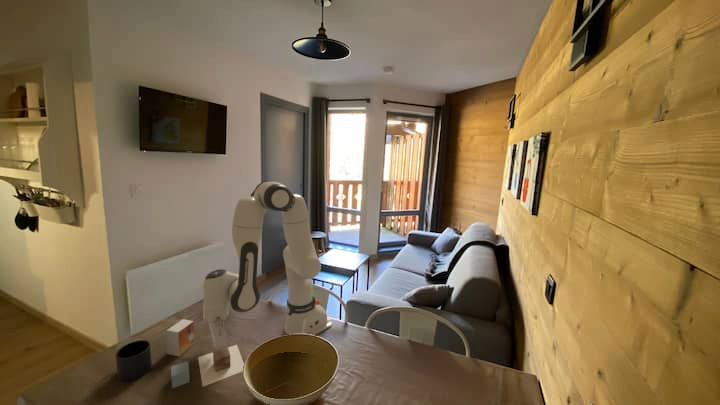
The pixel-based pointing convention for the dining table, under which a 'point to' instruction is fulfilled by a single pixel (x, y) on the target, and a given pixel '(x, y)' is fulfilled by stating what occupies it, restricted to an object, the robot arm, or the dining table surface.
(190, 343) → the small box
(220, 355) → the block
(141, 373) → the mug
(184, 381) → the cube
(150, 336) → the dining table surface
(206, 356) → the cream flat square panel
